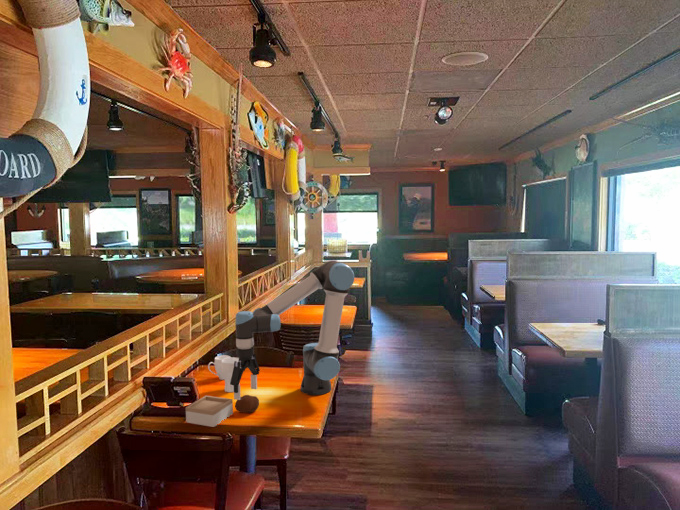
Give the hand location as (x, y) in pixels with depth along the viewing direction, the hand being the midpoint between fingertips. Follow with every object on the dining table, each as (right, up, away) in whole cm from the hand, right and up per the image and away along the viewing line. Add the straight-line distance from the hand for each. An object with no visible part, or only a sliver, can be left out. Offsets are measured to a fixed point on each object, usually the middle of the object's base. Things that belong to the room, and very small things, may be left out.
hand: (245, 394), depth 220 cm
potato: (+1, -8, +1) cm, 9 cm away
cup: (-12, -6, +28) cm, 31 cm away
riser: (-15, -9, -5) cm, 18 cm away
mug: (-22, -5, +44) cm, 50 cm away
